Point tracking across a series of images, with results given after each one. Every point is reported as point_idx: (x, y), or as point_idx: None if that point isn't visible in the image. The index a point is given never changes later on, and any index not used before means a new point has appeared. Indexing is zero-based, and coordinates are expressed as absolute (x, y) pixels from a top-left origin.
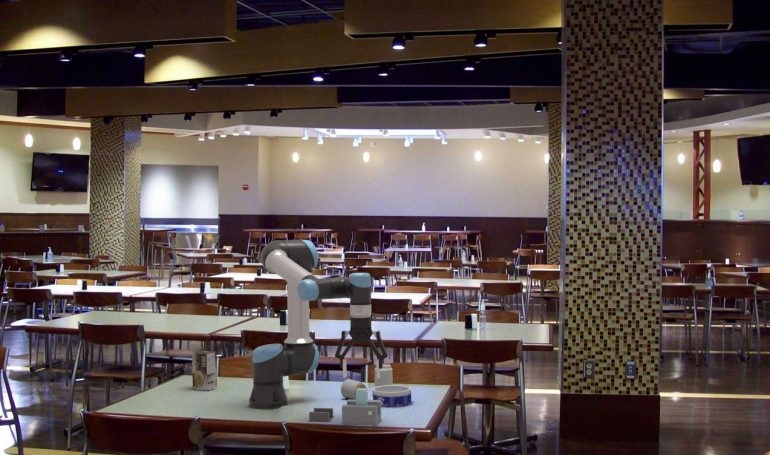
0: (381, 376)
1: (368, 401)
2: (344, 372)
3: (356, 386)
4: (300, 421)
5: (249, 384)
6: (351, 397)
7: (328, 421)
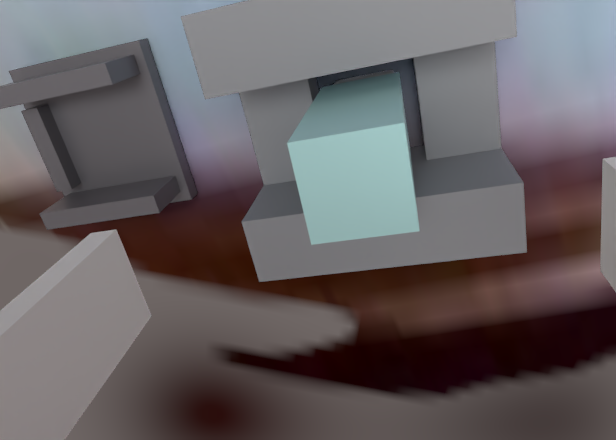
0: None
1: (397, 48)
2: (110, 368)
3: None
4: (8, 162)
5: None
6: None
7: (181, 194)
